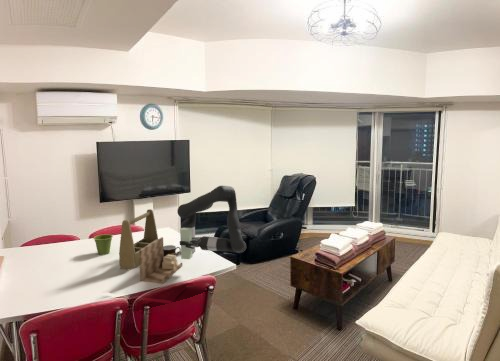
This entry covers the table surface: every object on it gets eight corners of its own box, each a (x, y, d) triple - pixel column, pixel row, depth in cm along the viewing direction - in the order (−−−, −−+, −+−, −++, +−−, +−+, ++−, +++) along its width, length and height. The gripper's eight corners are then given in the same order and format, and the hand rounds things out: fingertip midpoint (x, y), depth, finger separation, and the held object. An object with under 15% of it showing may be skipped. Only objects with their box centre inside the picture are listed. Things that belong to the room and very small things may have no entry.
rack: (162, 265, 195) (161, 237, 193) (182, 267, 193) (181, 238, 190) (140, 283, 172) (139, 250, 170) (162, 285, 169) (161, 252, 167)
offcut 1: (168, 259, 194) (168, 254, 193) (176, 260, 192) (176, 255, 191) (163, 262, 189) (163, 257, 189) (171, 263, 187) (171, 258, 187)
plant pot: (100, 257, 209) (99, 240, 207) (91, 253, 216) (89, 237, 214) (117, 252, 218) (116, 236, 217) (107, 248, 225) (106, 233, 224)
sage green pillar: (184, 256, 186) (183, 227, 184) (192, 256, 185) (191, 228, 182) (181, 258, 182) (180, 229, 180) (189, 259, 181) (188, 229, 179)
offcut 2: (166, 264, 194) (166, 259, 194) (177, 265, 193) (177, 259, 193) (162, 268, 189) (162, 262, 188) (173, 269, 188) (173, 263, 187)
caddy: (135, 270, 189) (133, 220, 185) (119, 268, 191) (116, 219, 187) (159, 253, 217) (157, 209, 214) (144, 251, 220) (142, 208, 216)
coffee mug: (162, 266, 195) (161, 250, 194) (162, 261, 203) (161, 245, 202) (181, 264, 198) (181, 248, 197) (180, 259, 206) (180, 244, 205)
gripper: (214, 233, 185) (186, 231, 189) (205, 241, 171) (175, 239, 175) (214, 246, 186) (187, 244, 190) (205, 254, 172) (176, 252, 176)
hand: (181, 241), depth 183 cm, fingers closed on sage green pillar, 4 cm apart
